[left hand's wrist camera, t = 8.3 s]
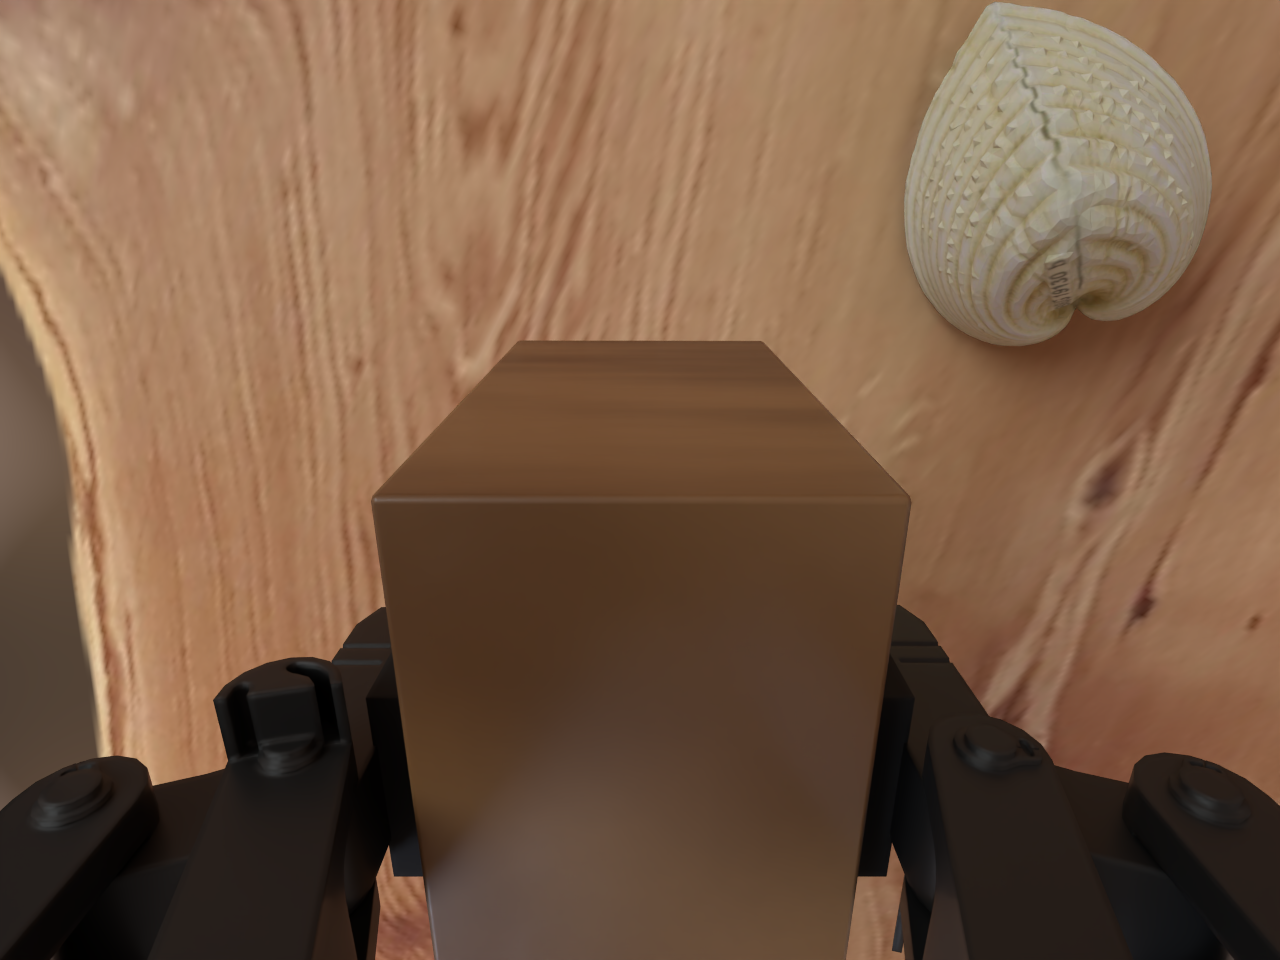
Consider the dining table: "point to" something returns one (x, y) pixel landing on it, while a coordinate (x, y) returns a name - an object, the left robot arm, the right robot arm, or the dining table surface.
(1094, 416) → the dining table surface
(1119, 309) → the seashell
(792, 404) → the bar
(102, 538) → the dining table surface
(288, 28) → the dining table surface
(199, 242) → the dining table surface
